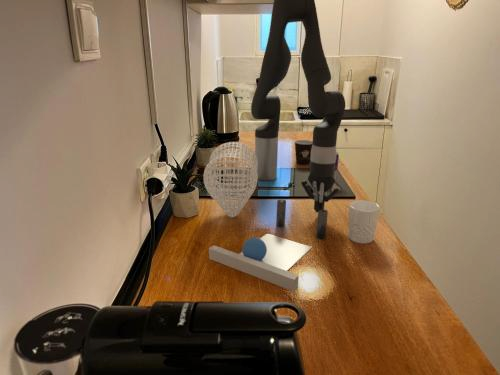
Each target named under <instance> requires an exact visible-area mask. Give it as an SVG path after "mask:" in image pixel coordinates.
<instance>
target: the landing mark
mask: <svg viewBox="0 0 500 375" xmlns="http://www.w3.org/2000/svg"><path fill="white" fill-rule="evenodd" d="M259 239H261V240H262V241H263V242H264V243H265V245H266V248H267V252H266V255H265V257H264V258H263V259H262V260H261V261H259V262H262V263H265V264H268V265H271V266H273V267H276V268H279V269H282V270H285V271H287V272H289V270H290V269H292V268H293V266H294V265H296V263H298V261H300V259H302V258H303V257H304V256H305V255H306V254H307V253H308V252H309V251H311V249H312V247H313V246H310V245H306V244H303V243H300V242H297V241H292V240H290V239H286V238H283V237H280V236H277V235H273V234H269V233H266V234H264V235H263V236H262V237H259ZM239 254H240V255H243V256H244V254H243V250H242V251H241V252H239Z"/></svg>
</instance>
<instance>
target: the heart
mask: <svg viewBox="0 0 500 375" xmlns="http://www.w3.org/2000/svg"><path fill="white" fill-rule="evenodd" d="M254 155H255V156H254ZM254 158H255V159H254ZM232 159H233V160H232ZM236 159H237V160H236ZM253 160H254V161H253ZM231 164H233V166H231ZM236 164H237V166H236ZM240 164H241V166H240ZM255 165H256V166H255ZM257 168H258V161H257V156H256V154H255V150H253V148H251V147H250V146H248V145H246V143H243V142H239V141H238V142H237V141H229V142H225V143H222V144H220V145H218V146H217V147H216V148H215V149H214V150H213V151H212V153H211V154H210V156H209V162H208V163H207V164H206V166H205V167H204V172H203V176H202V177H203V184H204V187H205V189H206V191H207V193H208V194H209V195H210V196H209V197H211V198H212V199H213V201H215V202H216V203H217V205H218V206H219V207H220V209H221V210H222V211H223V213H224V214H225V215H226V216H228V217H229V218H235V217H237V216H238V215H239V214H240V212H241V211H242V209H243V208H244V207H245V205H246V203H247V202H248V200H249V199H250V198H251V197H252V196H253V193H254V192H255V190H256V188H257V184H258V174H257ZM232 170H233V172H232ZM236 170H237V173H236ZM240 170H241V173H240ZM222 171H223V173H222ZM246 171H247V174H246ZM222 177H223V178H222ZM225 177H226V178H225ZM236 178H237V179H236ZM221 186H222V187H221ZM225 186H226V187H225ZM245 186H246V187H245ZM235 187H236V188H235Z"/></svg>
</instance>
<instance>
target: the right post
mask: <svg viewBox="0 0 500 375" xmlns="http://www.w3.org/2000/svg"><path fill="white" fill-rule="evenodd" d="M328 215H329V212H328V210H327V209H324V210H319V211H318V212H317V222H316V223H317V224H316V232H315V233H316V239H317V240H326V236H327V225H328Z"/></svg>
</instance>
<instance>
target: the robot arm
mask: <svg viewBox="0 0 500 375" xmlns="http://www.w3.org/2000/svg"><path fill="white" fill-rule="evenodd" d="M299 22H301V23H302V26H303V28H304V32H305V33H304V34H305V35H304V40H303V45H302V49H301V53H300V54H301V55H300V61H301V62H300V64H301V66H302V70H303V74H304V76H305V77H304V78H305V80H306V83H307V98H308V99H307V104H308V109H309V111H310V112H311V113H312V115H313V116H315V117H316V118H323V119H322V121H321V122H320V123H318V124H316V125H315V126H314V128H313V131H312V141H313V142H312V149H311V158H310V164H309V175H308V176H307V179H304V180H303V181H301V182H300V184H301V185H302V187H303V190H304V191H305V193H306V194H307V196H308V198H309V199H312V200H314V204H313V209H314V211H315V213H318V211H319V210H325V203H328V202H329V201H330V200H332V199H333V198H334V197H335V196H336V195H337V194H338V193H339V192H340V191H341V190H342V187H341V186H338V185H337V184H336V183H335V179H334V173H335V162H336V152H337V141H338V140H337V139H338V131H339V128H340V126H341V123H342V120H343V117H344V115H345V114H344V113H345V110H346V99H345V97H344V95H343V93H342V92H340V91H336V90H330V91H326V89H325V86H326V85H328V84H329V83H330V82H331V80H332V74H331V70H330V67H329V64H328V61H327V58H326V56H325V51H324V47H323V44H322V38H321V31H320V25H319V24H320V23H319V18H318V12H317V7H316V1H315V0H273V4H272V10H271V18H270V26H269V31H268V32H269V33H268V38H267V42H266V47H265V50H264V54H263V58H262V63H261V68H260V73H259V78H258V81H257V85H256V88H255V92H254V94H253V97H252V100H251V104H250V105H251V106H250V112H251V115H252V118H254V119H255V120H267V122H266V123H265V124H263V125H261V126H258V127H256V128H255V131H254V153H255V154H256V156H257V161H258V168H257V174H258V180H259V181H272V180H276V179H277V176H278V154H279V151H278V150H279V149H278V148H279V146H278V145H279V130H280V120H281V119H280V117H281V110H282V109H281V107H282V106H281V99H280V97H279V95H278V94H277V95H276V94H269V93H270V92H272V91H273V89H274V88H275V87H277V86H278V85H279V84H280V83H281V82H282V81H283V80H284V79H285V78H286V76H287V74H288V72H289V68H290V66H291V65H290V64H291V62H292V52H291V49H290V47H289V44H288V43H287V41H286V38H285V34H286V28H287V25H288V24H289V23H299ZM254 156H255V155H254ZM254 159H255V158H254ZM253 161H254V160H253ZM255 166H256V165H255ZM330 189H331V192H330V193H329V194H328V191H329V190H330ZM327 194H328V195H327Z"/></svg>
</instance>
